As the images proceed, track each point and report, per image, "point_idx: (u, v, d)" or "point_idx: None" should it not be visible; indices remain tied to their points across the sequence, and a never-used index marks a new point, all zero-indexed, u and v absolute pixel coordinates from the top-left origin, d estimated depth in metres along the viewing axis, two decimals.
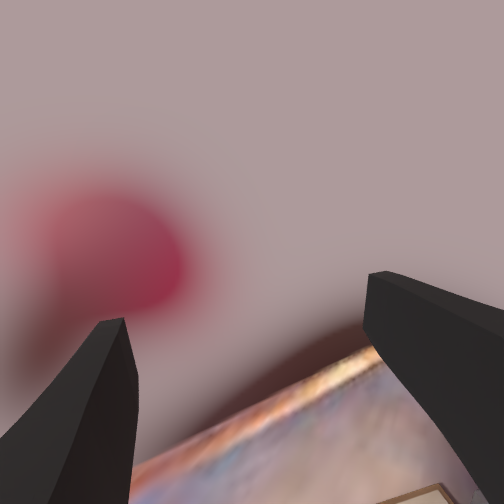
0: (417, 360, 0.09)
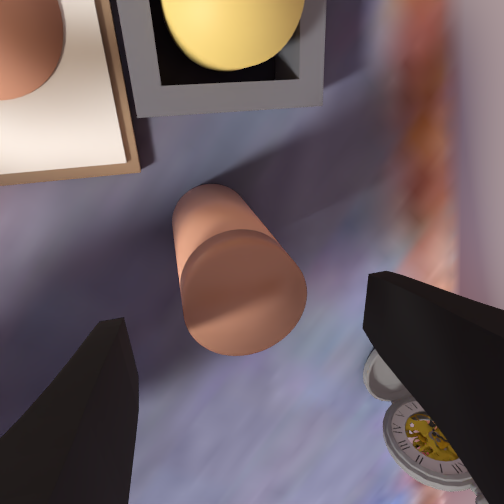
0: (417, 360, 0.09)
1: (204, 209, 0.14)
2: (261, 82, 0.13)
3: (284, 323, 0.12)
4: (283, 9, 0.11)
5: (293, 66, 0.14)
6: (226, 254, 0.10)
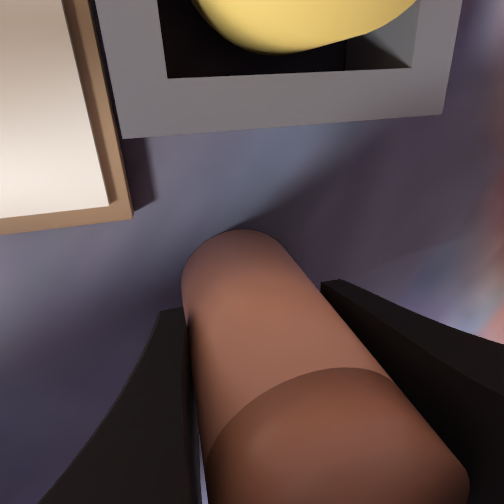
0: None
1: (241, 293, 0.08)
2: (347, 73, 0.07)
3: None
4: None
5: (395, 47, 0.08)
6: (324, 474, 0.04)
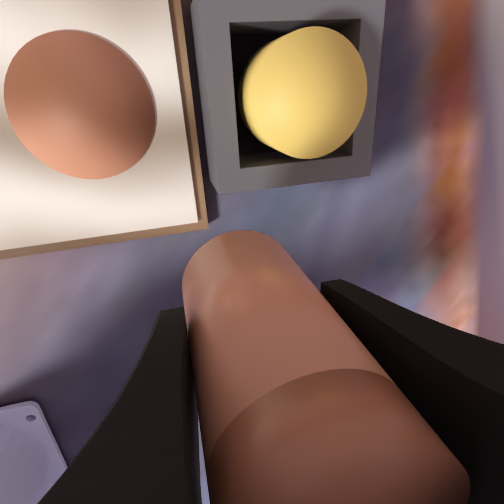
0: None
1: (240, 295, 0.08)
2: (320, 160, 0.15)
3: None
4: (347, 112, 0.13)
5: (345, 143, 0.16)
6: (323, 476, 0.04)
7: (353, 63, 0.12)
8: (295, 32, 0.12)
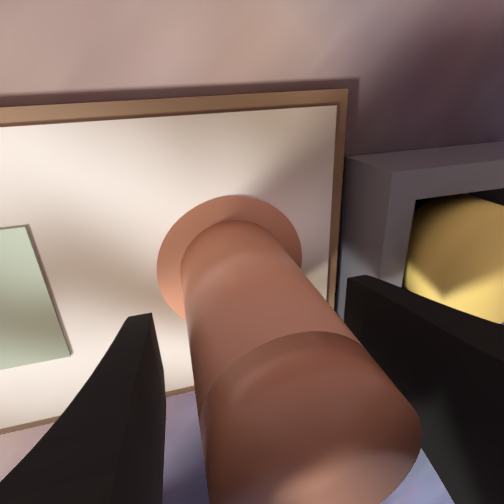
0: (392, 366, 0.09)
1: (230, 275, 0.09)
2: None
3: (381, 487, 0.07)
4: None
5: None
6: (289, 410, 0.05)
7: None
8: (499, 222, 0.11)
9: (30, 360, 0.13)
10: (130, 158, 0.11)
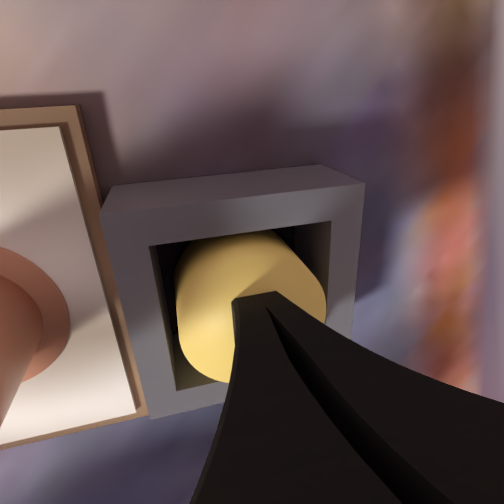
0: None
1: None
2: None
3: None
4: None
5: None
6: None
7: (307, 285, 0.10)
8: (228, 265, 0.09)
9: None
10: None
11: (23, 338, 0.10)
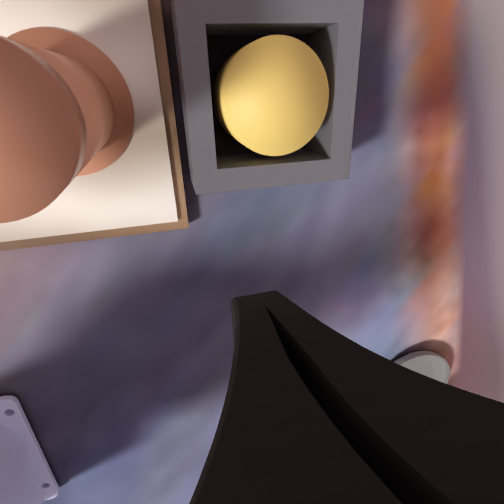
0: None
1: None
2: (299, 163, 0.15)
3: (48, 173, 0.08)
4: (311, 114, 0.14)
5: (324, 146, 0.16)
6: None
7: (315, 69, 0.14)
8: (260, 39, 0.13)
9: None
10: None
11: (108, 105, 0.13)
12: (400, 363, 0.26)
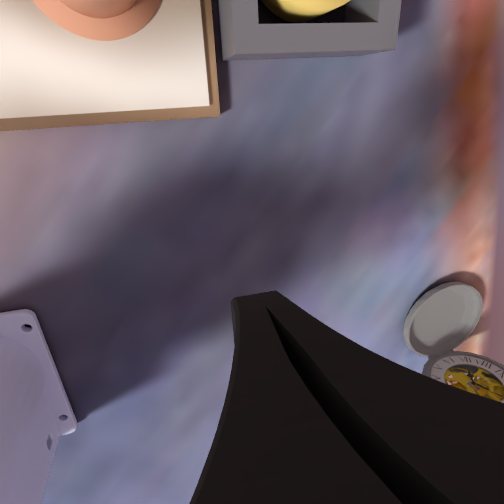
0: None
1: None
2: (344, 24, 0.14)
3: None
4: None
5: (370, 12, 0.15)
6: None
7: None
8: None
9: None
10: None
11: None
12: (433, 293, 0.25)
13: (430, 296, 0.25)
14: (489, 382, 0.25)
